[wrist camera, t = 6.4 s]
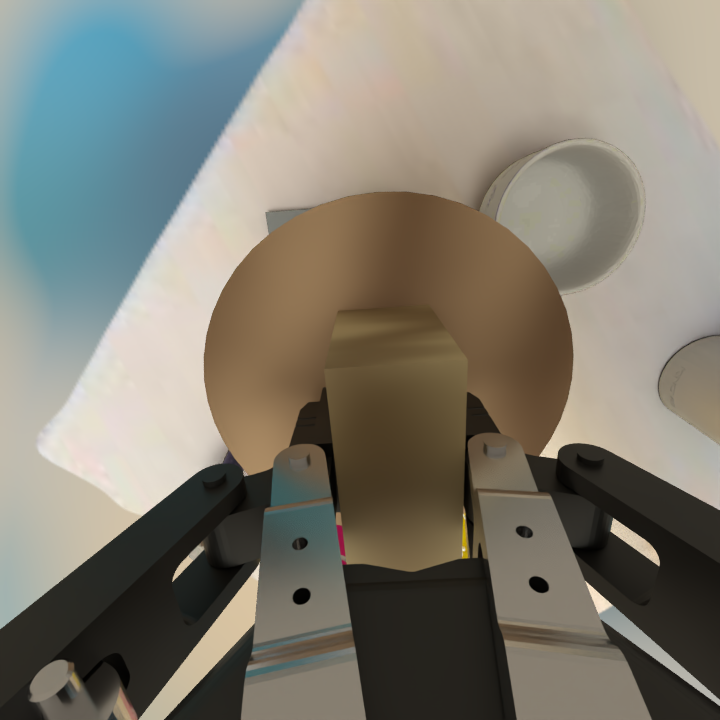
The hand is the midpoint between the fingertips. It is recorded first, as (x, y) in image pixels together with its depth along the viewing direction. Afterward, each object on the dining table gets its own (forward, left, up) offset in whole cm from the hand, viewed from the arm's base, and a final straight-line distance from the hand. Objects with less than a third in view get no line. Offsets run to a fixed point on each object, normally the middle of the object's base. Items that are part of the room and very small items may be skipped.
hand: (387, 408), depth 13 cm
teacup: (-13, -3, -26) cm, 30 cm away
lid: (0, 0, -2) cm, 2 cm away
